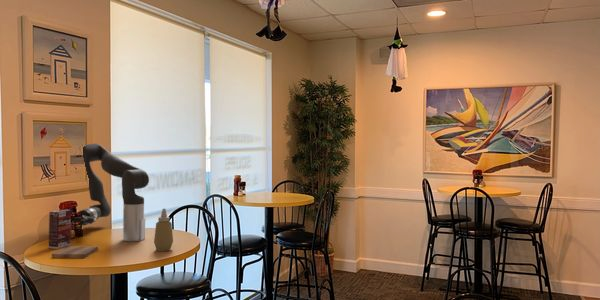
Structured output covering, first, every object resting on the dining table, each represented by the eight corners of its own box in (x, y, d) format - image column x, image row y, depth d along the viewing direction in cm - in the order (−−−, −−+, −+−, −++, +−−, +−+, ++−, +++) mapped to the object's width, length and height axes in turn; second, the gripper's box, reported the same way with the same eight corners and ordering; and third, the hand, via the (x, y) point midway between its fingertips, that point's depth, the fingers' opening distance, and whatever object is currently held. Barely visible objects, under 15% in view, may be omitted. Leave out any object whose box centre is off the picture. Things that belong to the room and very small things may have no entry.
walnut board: (97, 250, 196) (98, 246, 196) (84, 258, 183) (84, 254, 183) (67, 249, 195) (67, 246, 195) (51, 257, 182) (51, 254, 182)
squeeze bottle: (176, 248, 201) (177, 208, 201) (165, 253, 193) (166, 210, 193) (161, 246, 204) (161, 206, 203) (149, 251, 196) (150, 209, 196)
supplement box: (58, 249, 196) (58, 212, 196) (48, 248, 197) (48, 211, 196) (71, 244, 204) (72, 209, 204) (62, 244, 205) (62, 208, 205)
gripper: (72, 208, 227) (56, 214, 211) (101, 209, 228) (87, 214, 212) (72, 223, 228) (56, 230, 212) (101, 224, 228) (87, 231, 212)
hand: (71, 222), depth 212 cm, fingers open, 8 cm apart
